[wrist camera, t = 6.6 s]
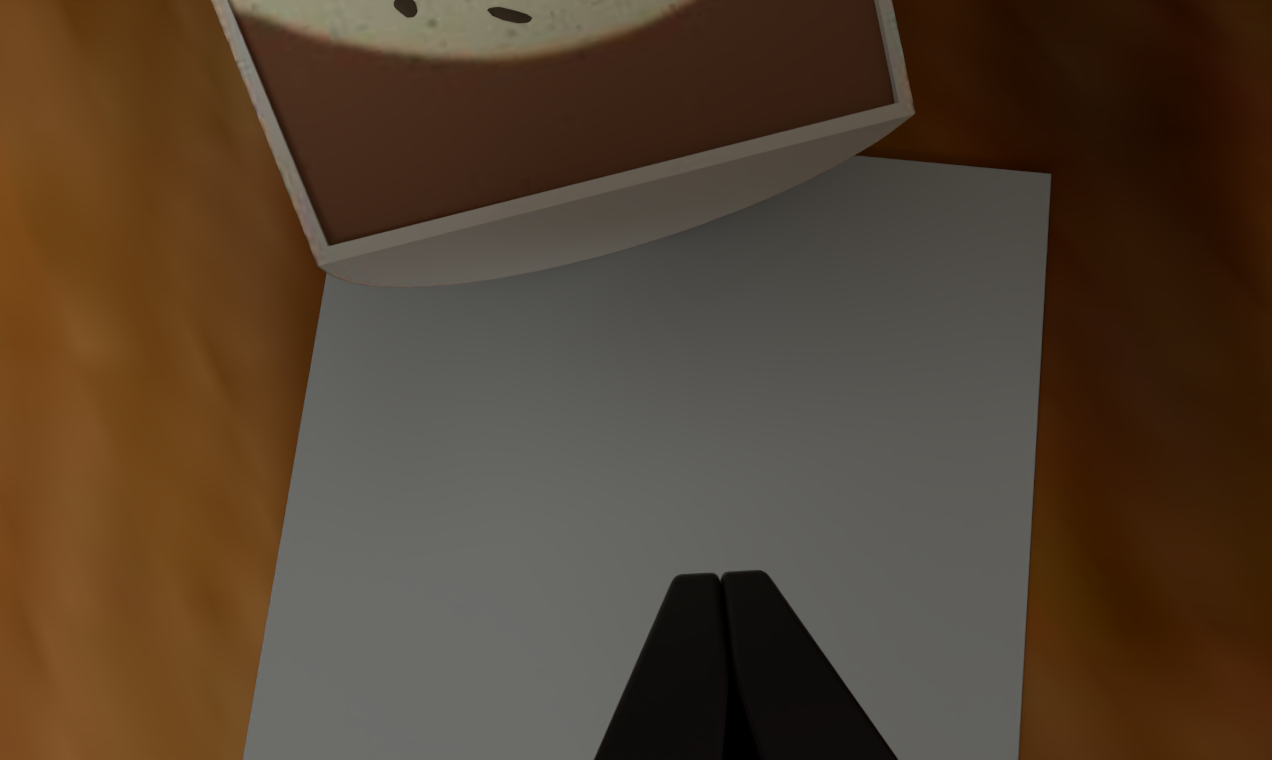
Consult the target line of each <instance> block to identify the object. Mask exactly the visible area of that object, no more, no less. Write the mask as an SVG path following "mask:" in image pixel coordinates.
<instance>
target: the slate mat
mask: <svg viewBox="0 0 1272 760" xmlns="http://www.w3.org/2000/svg"><path fill="white" fill-rule="evenodd" d="M1050 187H1051V174H1046V173H1036V172H1025V171H1015V170H1004V169H993V168H983V167H972V166H962V165H951V164H940V163H930V162H919V161H908V160H898V159H887V158H877V157H866V156H855V155H854V156H852V157H851V158H849V159H847V160H845V161H844V162H842V163H840V164H838V165H837V166H835V167H833V168H832V169H830V170H828V171H826V172H825V173H822V174H820V175H818V176H816V177H814V178H812V179H809V180H807V181H805V182H803V183H801V184H799V185H796V186H794V187H792V188H790V189H788V190H786V191H783V192H781V193H779V194H777V195H775V196H773V197H770V198H768V199H766V200H764V201H762V202H760V203H757V204H755V205H752V206H749V207H747V208H744V209H741V210H739V211H736V212H734V213H731V214H728V215H726V216H723V217H720V218H718V219H715V220H713V221H710V222H707V223H705V224H702V225H699V226H697V227H694V228H692V229H689V230H686V231H683V232H679V233H676V234H673V235H670V236H667V237H664V238H661V239H657V240H654V241H651V242H648V243H645V244H642V245H639V246H636V247H632V248H629V249H625V250H622V251H618V252H614V253H611V254H607V255H604V256H600V257H596V258H592V259H588V260H584V261H580V262H576V263H572V264H568V265H564V266H560V267H555V268H550V269H546V270H541V271H536V272H532V273H527V274H521V275H516V276H510V277H505V278H499V279H493V280H486V281H479V282H471V283H464V284H455V285H444V286H433V287H407V288H394V287H374V286H367V285H360V284H354V283H349V282H346V281H343V280H340V279H337V278H334V277H332V276H330V275H329V274H326V280H325V286H324V292H323V298H322V303H321V309H320V315H319V321H318V327H317V332H316V338H315V344H314V350H313V356H312V361H311V367H310V373H309V379H308V385H307V390H306V396H305V402H304V408H303V414H302V419H301V425H300V431H299V437H298V443H297V448H296V454H295V460H294V466H293V472H292V477H291V483H290V489H289V495H288V501H287V506H286V512H285V518H284V524H283V530H282V535H281V541H280V547H279V553H278V559H277V564H276V570H275V576H274V582H273V588H272V593H271V599H270V605H269V611H268V617H267V622H266V628H265V634H264V640H263V646H262V651H261V657H260V663H259V669H258V675H257V680H256V686H255V692H254V698H253V704H252V709H251V715H250V721H249V727H248V733H247V738H246V744H245V750H244V756H243V760H594V757H595V755H596V753H597V751H598V748H599V746H600V744H601V741H602V739H603V737H604V735H605V732H606V730H607V728H608V725H609V723H610V721H611V719H612V716H613V714H614V712H615V709H616V707H617V705H618V703H619V700H620V698H621V696H622V693H623V691H624V689H625V686H626V684H627V682H628V680H629V677H630V675H631V673H632V670H633V668H634V666H635V664H636V661H637V659H638V657H639V654H640V652H641V650H642V648H643V645H644V643H645V641H646V638H647V636H648V634H649V632H650V629H651V627H652V625H653V622H654V620H655V618H656V616H657V613H658V611H659V609H660V606H661V604H662V602H663V599H664V597H665V595H666V593H667V590H668V588H669V586H670V584H671V582H672V580H673V579H674V577H675V576H677V575H679V574H692V573H710V572H711V573H715V574H717V575H718V577H719V579H721V576H722V575H723V574H724V573H725V572H728V571H747V570H762V571H764V572H766V573H767V574H768V575H769V576H770V577H771V579H772V580H773V582H774V583H775V584H776V586H777V587H778V589H779V590H780V591H781V593H782V594H783V596H784V597H785V599H786V600H787V601H788V603H789V604H790V606H791V607H792V609H793V610H794V611H795V613H796V614H797V616H798V617H799V619H800V620H801V621H802V623H803V624H804V626H805V627H806V629H807V630H808V631H809V633H810V634H811V636H812V637H813V638H814V640H815V641H816V643H817V644H818V646H819V647H820V648H821V650H822V651H823V653H824V654H825V656H826V657H827V658H828V660H829V661H830V663H831V664H832V666H833V667H834V668H835V670H836V671H837V673H838V674H839V675H840V677H841V678H842V680H843V681H844V683H845V684H846V685H847V687H848V688H849V690H850V691H851V693H852V694H853V695H854V697H855V698H856V700H857V701H858V703H859V704H860V705H861V707H862V708H863V710H864V711H865V713H866V714H867V715H868V717H869V718H870V720H871V721H872V722H873V724H874V725H875V727H876V728H877V730H878V731H879V732H880V734H881V735H882V737H883V738H884V740H885V741H886V742H887V744H888V745H889V747H890V748H891V750H892V751H893V752H894V754H895V755H896V757H897V758H898V760H1018V753H1019V736H1020V718H1021V700H1022V683H1023V665H1024V647H1025V629H1026V612H1027V594H1028V576H1029V559H1030V541H1031V523H1032V506H1033V488H1034V470H1035V452H1036V435H1037V417H1038V399H1039V382H1040V364H1041V346H1042V329H1043V311H1044V293H1045V275H1046V258H1047V240H1048V222H1049V205H1050Z"/></svg>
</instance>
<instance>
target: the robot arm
mask: <svg viewBox="0 0 1272 760" xmlns="http://www.w3.org/2000/svg"><path fill="white" fill-rule="evenodd" d="M594 760H898V758H897V757H896V755H895V754H894V752H893V751H892V750H891V748H890V747H889V745H888V744H887V742H886V741H885V740H884V738H883V737H882V735H881V734H880V732H879V731H878V730H877V728H876V727H875V725H874V724H873V722H872V721H871V720H870V718H869V717H868V715H867V714H866V713H865V711H864V710H863V708H862V707H861V705H860V704H859V703H858V701H857V700H856V698H855V697H854V695H853V694H852V693H851V691H850V690H849V688H848V687H847V685H846V684H845V683H844V681H843V680H842V678H841V677H840V675H839V674H838V673H837V671H836V670H835V668H834V667H833V666H832V664H831V663H830V661H829V660H828V658H827V657H826V656H825V654H824V653H823V651H822V650H821V648H820V647H819V646H818V644H817V643H816V641H815V640H814V638H813V637H812V636H811V634H810V633H809V631H808V630H807V629H806V627H805V626H804V624H803V623H802V621H801V620H800V619H799V617H798V616H797V614H796V613H795V611H794V610H793V609H792V607H791V606H790V604H789V603H788V601H787V600H786V599H785V597H784V596H783V594H782V593H781V591H780V590H779V589H778V587H777V586H776V584H775V583H774V582H773V580H772V579H771V577H770V576H769V575H768V574H767V573H766V572H764V571H762V570H747V571H728V572H725V573H724V574H723V575H722V576H721V579H719V577H718V575H717V574H715V573H711V572H710V573H692V574H679V575H677V576H675V577H674V579H673V580H672V582H671V584H670V586H669V588H668V590H667V593H666V595H665V597H664V599H663V602H662V604H661V606H660V609H659V611H658V613H657V616H656V618H655V620H654V622H653V625H652V627H651V629H650V632H649V634H648V636H647V638H646V641H645V643H644V645H643V648H642V650H641V652H640V654H639V657H638V659H637V661H636V664H635V666H634V668H633V670H632V673H631V675H630V677H629V680H628V682H627V684H626V686H625V689H624V691H623V693H622V696H621V698H620V700H619V703H618V705H617V707H616V709H615V712H614V714H613V716H612V719H611V721H610V723H609V725H608V728H607V730H606V732H605V735H604V737H603V739H602V741H601V744H600V746H599V748H598V751H597V753H596V755H595V757H594Z"/></svg>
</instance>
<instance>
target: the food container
mask: <svg viewBox="0 0 1272 760" xmlns="http://www.w3.org/2000/svg"><path fill="white" fill-rule="evenodd" d="M211 1H212V4H213V6H214V9H215V11H216V14H217V16H218V19H219V21H220V24H221V26H222V29H223V31H224V34H225V36H226V39H227V41H228V44H229V46H230V49H231V51H232V54H233V56H234V59H235V61H236V64H237V66H238V69H239V71H240V74H241V76H242V79H243V81H244V84H245V86H246V89H247V91H248V94H249V96H250V99H251V101H252V104H253V106H254V109H255V111H256V114H257V116H258V119H259V121H260V124H261V126H262V129H263V131H264V134H265V136H266V139H267V141H268V144H269V146H270V149H271V151H272V153H273V156H274V158H275V161H276V163H277V166H278V168H279V171H280V173H281V176H282V178H283V181H284V183H285V186H286V188H287V191H288V193H289V196H290V198H291V201H292V203H293V206H294V208H295V211H296V213H297V216H298V218H299V221H300V223H301V226H302V228H303V231H304V233H305V236H306V238H307V241H308V243H309V246H310V248H311V251H312V253H313V256H314V258H315V261H316V263H317V266H318V267H320V268H321V269H322V270H323V271H325V272H326V273H327V274H329V275H330V276H332V277H334V278H337V279H340V280H343V281H346V282H349V283H354V284H360V285H367V286H374V287H394V288H407V287H433V286H444V285H455V284H464V283H471V282H479V281H486V280H493V279H499V278H505V277H510V276H516V275H521V274H527V273H532V272H536V271H541V270H546V269H550V268H555V267H560V266H564V265H568V264H572V263H576V262H580V261H584V260H588V259H592V258H596V257H600V256H604V255H607V254H611V253H614V252H618V251H622V250H625V249H629V248H632V247H636V246H639V245H642V244H645V243H648V242H651V241H654V240H657V239H661V238H664V237H667V236H670V235H673V234H676V233H679V232H683V231H686V230H689V229H692V228H694V227H697V226H699V225H702V224H705V223H707V222H710V221H713V220H715V219H718V218H720V217H723V216H726V215H728V214H731V213H734V212H736V211H739V210H741V209H744V208H747V207H749V206H752V205H755V204H757V203H760V202H762V201H764V200H766V199H768V198H770V197H773V196H775V195H777V194H779V193H781V192H783V191H786V190H788V189H790V188H792V187H794V186H796V185H799V184H801V183H803V182H805V181H807V180H809V179H812V178H814V177H816V176H818V175H820V174H822V173H825V172H826V171H828V170H830V169H832V168H833V167H835V166H837V165H838V164H840V163H842V162H844V161H845V160H847V159H849V158H851V157H852V156H854V155H856V154H857V153H859V152H861V151H863V150H864V149H866V148H868V147H870V146H871V145H873V144H875V143H877V142H878V141H880V140H882V139H883V138H884V137H886V136H887V135H888V134H890V133H891V132H892V131H894V130H895V129H896V128H897V127H899V126H900V125H901V124H903V123H904V122H905V121H907V120H908V119H909V118H910V117H912V116H913V115H914V114H916V113H915V109H914V104H913V99H912V94H911V89H910V85H909V80H908V75H907V70H906V66H905V61H904V56H903V51H902V46H901V42H900V37H899V32H898V27H897V22H896V18H895V13H894V8H893V3H892V0H211Z"/></svg>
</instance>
